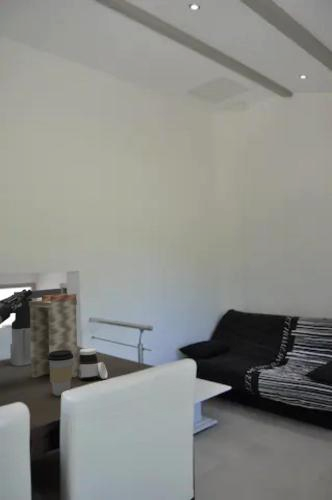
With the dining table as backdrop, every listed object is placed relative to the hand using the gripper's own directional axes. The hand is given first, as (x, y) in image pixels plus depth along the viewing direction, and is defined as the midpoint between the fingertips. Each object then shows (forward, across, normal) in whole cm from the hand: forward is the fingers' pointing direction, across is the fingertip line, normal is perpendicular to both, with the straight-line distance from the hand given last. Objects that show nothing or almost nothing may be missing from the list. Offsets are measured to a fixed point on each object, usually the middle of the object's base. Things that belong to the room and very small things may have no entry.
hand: (28, 291), depth 177 cm
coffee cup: (-21, -26, +30) cm, 45 cm away
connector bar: (+3, 0, +5) cm, 6 cm away
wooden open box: (-10, -4, +36) cm, 38 cm away
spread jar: (-4, -20, +40) cm, 45 cm away
